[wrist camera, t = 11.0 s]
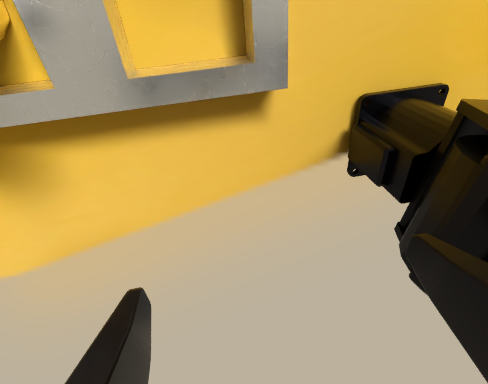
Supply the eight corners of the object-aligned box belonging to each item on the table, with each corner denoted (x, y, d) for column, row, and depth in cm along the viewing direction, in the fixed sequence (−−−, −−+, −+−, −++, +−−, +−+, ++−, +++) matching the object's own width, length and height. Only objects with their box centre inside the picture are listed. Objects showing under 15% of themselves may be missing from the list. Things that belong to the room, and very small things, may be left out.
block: (272, -156, 12) (289, -190, 10) (275, 78, 17) (287, 88, 15) (-261, -125, 10) (-376, -157, 8) (-66, 123, 15) (-104, 141, 13)
